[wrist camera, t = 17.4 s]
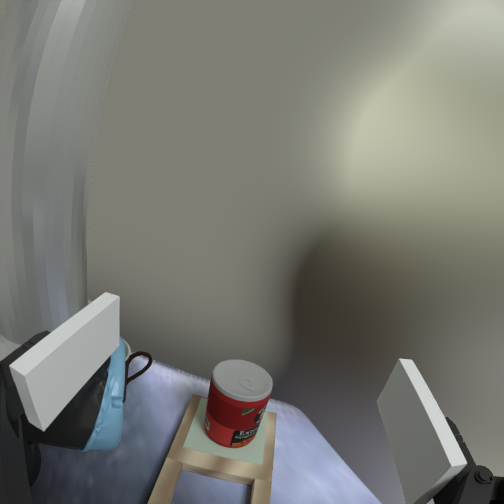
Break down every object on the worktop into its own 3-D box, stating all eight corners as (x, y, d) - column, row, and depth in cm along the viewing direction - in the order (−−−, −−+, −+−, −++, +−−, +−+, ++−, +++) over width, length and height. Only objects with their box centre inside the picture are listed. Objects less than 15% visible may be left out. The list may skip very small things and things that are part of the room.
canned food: (236, 458, 34) (253, 407, 31) (191, 428, 37) (199, 374, 35) (265, 429, 40) (283, 377, 37) (223, 404, 44) (234, 352, 41)
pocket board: (139, 530, 21) (138, 525, 20) (192, 402, 46) (193, 393, 45) (260, 558, 20) (264, 554, 19) (273, 420, 45) (276, 412, 44)
